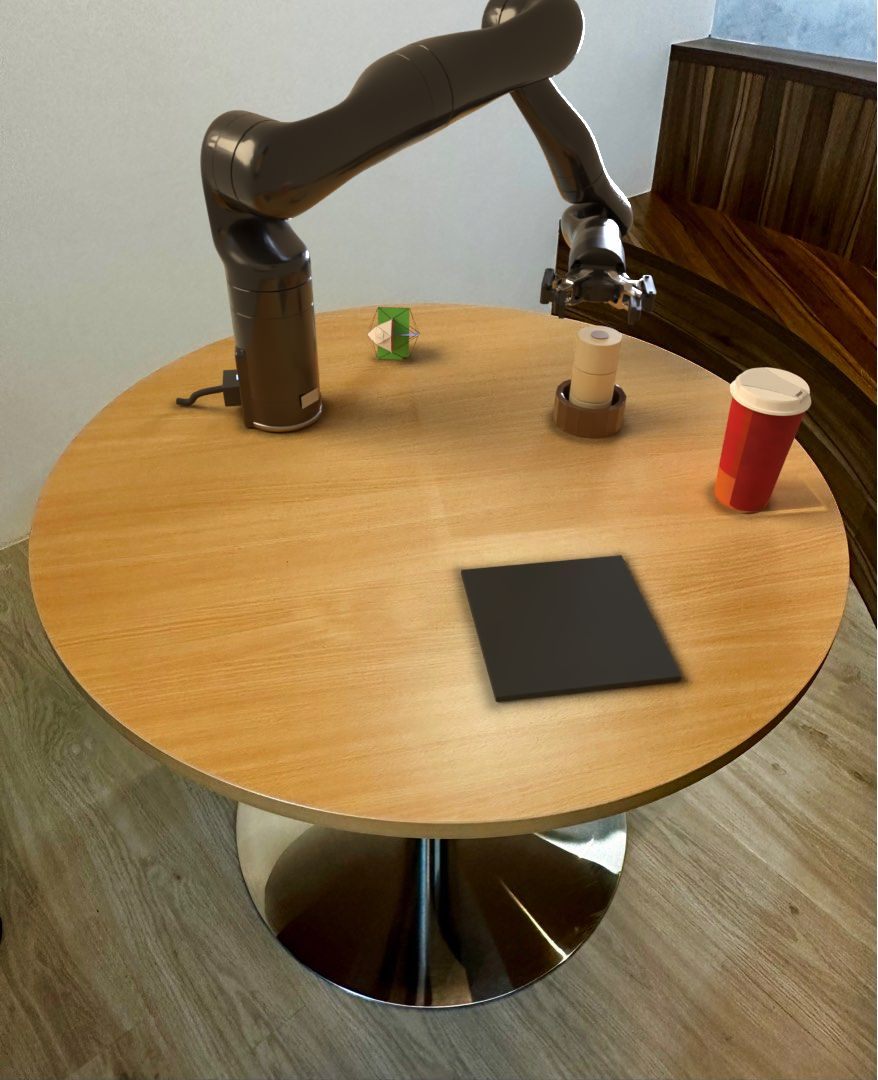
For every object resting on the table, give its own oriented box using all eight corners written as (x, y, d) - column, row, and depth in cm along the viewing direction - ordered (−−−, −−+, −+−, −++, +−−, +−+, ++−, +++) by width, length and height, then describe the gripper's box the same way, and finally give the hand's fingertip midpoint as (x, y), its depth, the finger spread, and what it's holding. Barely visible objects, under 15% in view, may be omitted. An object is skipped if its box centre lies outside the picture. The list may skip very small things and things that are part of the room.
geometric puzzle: (371, 322, 122) (366, 292, 114) (421, 324, 122) (419, 294, 114) (368, 370, 120) (363, 344, 112) (419, 372, 120) (417, 345, 112)
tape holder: (563, 444, 103) (566, 414, 100) (545, 407, 109) (548, 379, 107) (630, 439, 104) (635, 409, 101) (609, 403, 110) (613, 375, 108)
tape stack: (573, 432, 104) (584, 345, 97) (561, 410, 108) (572, 325, 101) (613, 429, 105) (628, 343, 98) (601, 407, 108) (614, 323, 101)
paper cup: (789, 498, 95) (828, 382, 87) (756, 530, 91) (793, 412, 82) (723, 469, 99) (754, 356, 91) (689, 498, 95) (717, 383, 86)
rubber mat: (495, 701, 72) (496, 697, 72) (460, 574, 85) (461, 569, 84) (680, 681, 75) (682, 676, 74) (620, 559, 87) (621, 554, 86)
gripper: (546, 232, 118) (541, 280, 106) (654, 239, 117) (662, 289, 104) (541, 286, 123) (535, 338, 110) (645, 293, 122) (651, 347, 109)
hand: (597, 314), depth 107 cm, fingers open, 8 cm apart
